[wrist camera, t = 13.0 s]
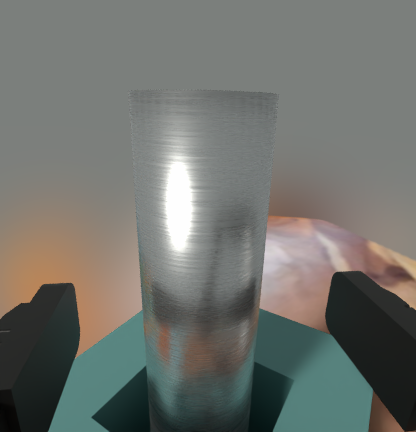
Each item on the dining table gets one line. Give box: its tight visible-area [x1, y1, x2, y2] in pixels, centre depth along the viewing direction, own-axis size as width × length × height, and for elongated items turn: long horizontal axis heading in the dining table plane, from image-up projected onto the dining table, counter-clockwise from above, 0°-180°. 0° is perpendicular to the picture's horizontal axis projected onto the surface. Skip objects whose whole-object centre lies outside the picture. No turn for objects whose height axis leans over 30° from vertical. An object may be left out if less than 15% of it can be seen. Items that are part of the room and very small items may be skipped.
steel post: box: [128, 90, 279, 432], centre depth 11 cm, size 4×4×18 cm
